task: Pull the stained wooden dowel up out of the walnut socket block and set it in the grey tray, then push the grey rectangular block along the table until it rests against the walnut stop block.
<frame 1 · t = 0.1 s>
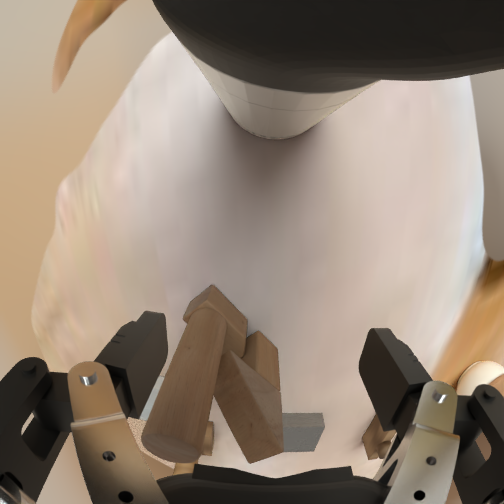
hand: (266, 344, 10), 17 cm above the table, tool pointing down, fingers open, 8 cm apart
socket block: (194, 429, 36), on the table
lidded jar: (470, 374, 33), on the table
tan angled wooden part: (235, 325, 30), on the table
stop block: (375, 422, 35), on the table
tray: (157, 394, 34), on the table
dowel: (194, 429, 36), resting in socket block
grey rectangular block: (297, 425, 36), on the table
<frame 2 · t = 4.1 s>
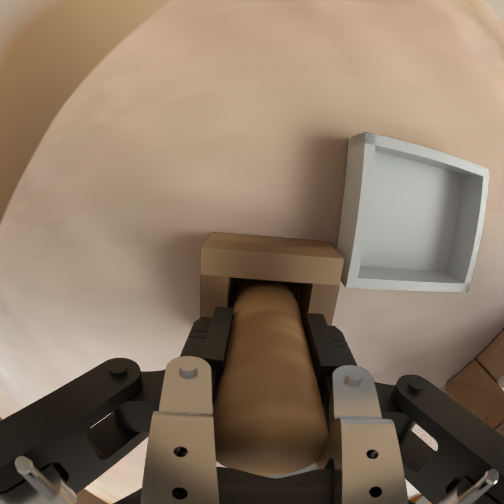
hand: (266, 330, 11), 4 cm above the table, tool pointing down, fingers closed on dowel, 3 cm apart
socket block: (266, 291, 15), on the table
tan angled wooden part: (489, 352, 17), on the table
tray: (407, 214, 14), on the table
dowel: (265, 291, 15), resting in socket block, touching gripper
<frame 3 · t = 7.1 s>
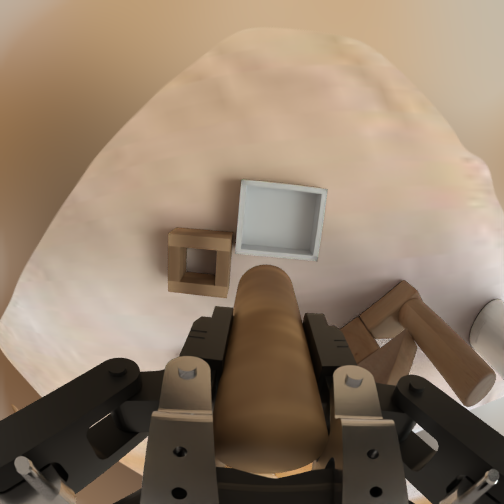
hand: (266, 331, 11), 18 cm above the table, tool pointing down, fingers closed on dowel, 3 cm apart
socket block: (202, 257, 30), on the table
tan angled wooden part: (375, 314, 32), on the table
tray: (279, 217, 28), on the table
dowel: (265, 290, 15), point 14 cm above the table, touching gripper
when the fingers open (6 cm above the table, at t = 10.1 s): dowel drops 1 cm, resting on tray.
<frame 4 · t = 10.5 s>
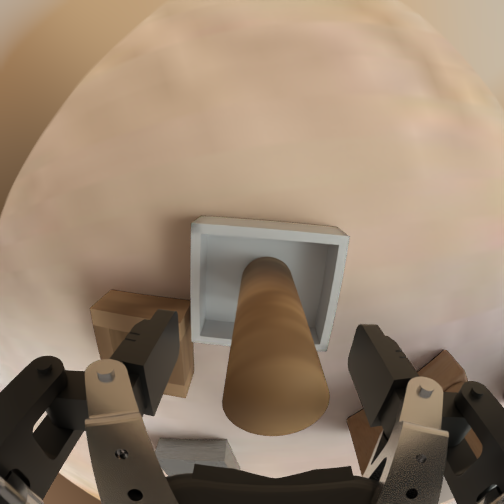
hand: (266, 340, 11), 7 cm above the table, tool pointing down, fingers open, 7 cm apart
socket block: (152, 333, 19), on the table
tan angled wooden part: (402, 393, 20), on the table
tray: (264, 277, 17), on the table
dowel: (266, 281, 17), point 1 cm above the table, touching tray
grey rectangular block: (201, 452, 23), on the table
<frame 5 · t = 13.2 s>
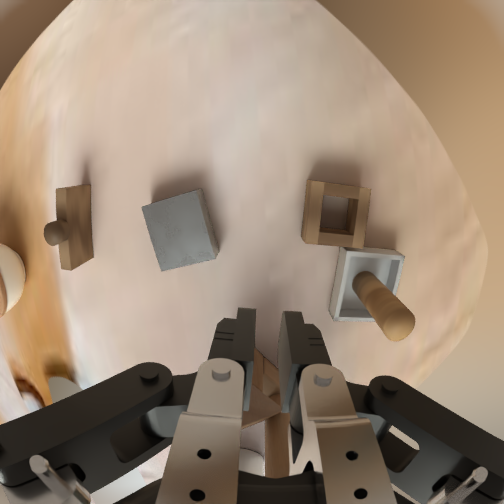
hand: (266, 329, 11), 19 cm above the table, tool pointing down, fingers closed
socket block: (331, 211, 29), on the table
lidded jar: (15, 267, 32), on the table
tan angled wooden part: (262, 369, 35), on the table
stop block: (86, 221, 30), on the table
tray: (362, 280, 31), on the table
dowel: (364, 283, 30), point 1 cm above the table, touching tray
grey rectangular block: (185, 226, 30), on the table
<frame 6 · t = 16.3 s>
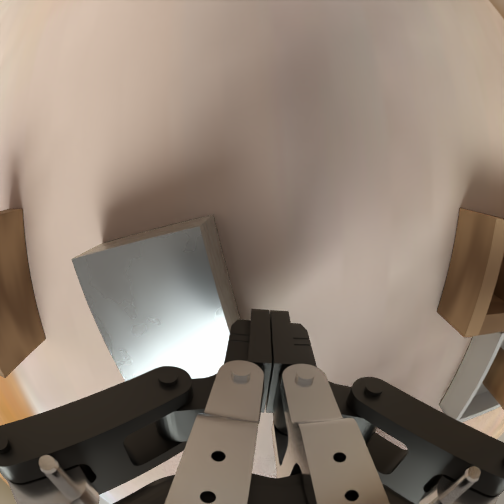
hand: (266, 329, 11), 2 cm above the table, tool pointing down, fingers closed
socket block: (482, 264, 12), on the table
stop block: (23, 277, 14), on the table
tray: (487, 359, 14), on the table
dowel: (490, 363, 14), point 1 cm above the table, touching tray
grey rectangular block: (174, 296, 14), on the table
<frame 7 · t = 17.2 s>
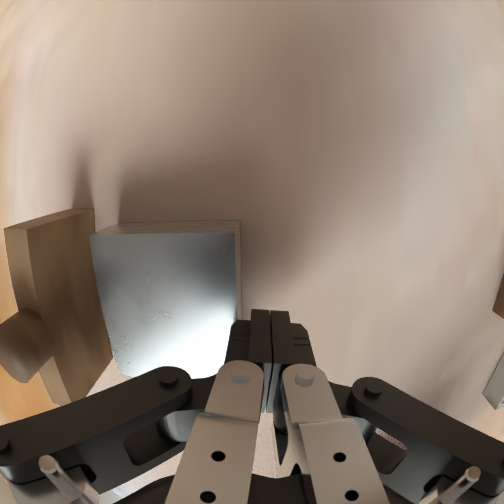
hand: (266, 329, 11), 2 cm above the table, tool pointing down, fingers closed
stop block: (89, 290, 14), on the table
grey rectangular block: (182, 290, 14), on the table, touching gripper
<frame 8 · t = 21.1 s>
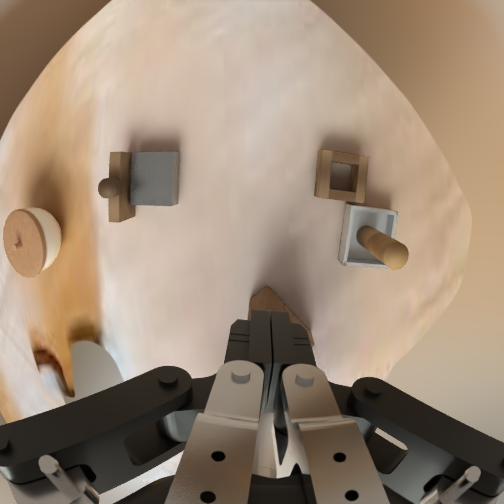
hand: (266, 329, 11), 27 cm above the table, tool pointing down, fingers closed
socket block: (338, 176, 35), on the table
lidded jar: (50, 233, 39), on the table
tan angled wooden part: (281, 316, 41), on the table
stop block: (130, 184, 36), on the table
tray: (364, 234, 37), on the table
dowel: (366, 235, 37), point 1 cm above the table, touching tray
grey rectangular block: (158, 177, 36), on the table
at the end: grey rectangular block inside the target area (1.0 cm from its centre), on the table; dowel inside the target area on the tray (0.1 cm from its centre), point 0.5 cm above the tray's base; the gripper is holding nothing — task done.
